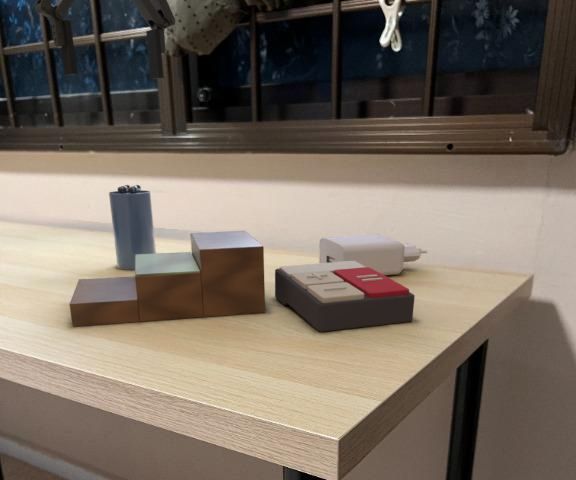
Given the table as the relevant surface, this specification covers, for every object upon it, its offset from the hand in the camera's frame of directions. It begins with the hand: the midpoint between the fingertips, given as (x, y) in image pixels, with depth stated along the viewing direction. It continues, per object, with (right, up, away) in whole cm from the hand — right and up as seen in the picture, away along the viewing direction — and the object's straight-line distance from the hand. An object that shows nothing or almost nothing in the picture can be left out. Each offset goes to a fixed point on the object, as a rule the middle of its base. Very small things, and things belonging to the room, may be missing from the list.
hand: (116, 77), depth 90 cm
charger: (+39, -29, 0) cm, 48 cm away
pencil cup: (+2, -27, +5) cm, 28 cm away
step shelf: (+11, -36, -17) cm, 42 cm away
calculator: (+31, -37, -19) cm, 52 cm away
